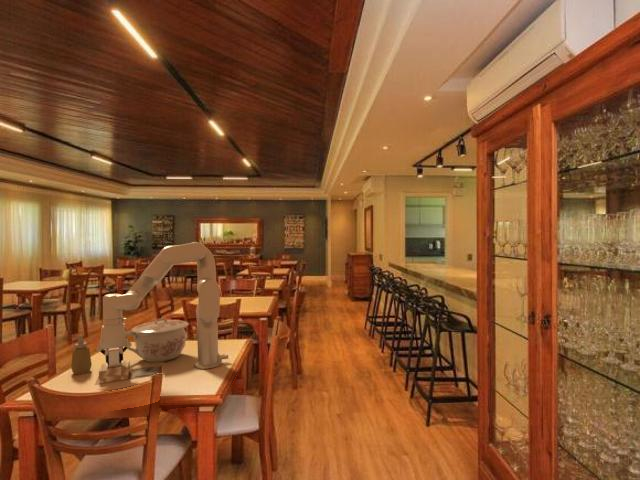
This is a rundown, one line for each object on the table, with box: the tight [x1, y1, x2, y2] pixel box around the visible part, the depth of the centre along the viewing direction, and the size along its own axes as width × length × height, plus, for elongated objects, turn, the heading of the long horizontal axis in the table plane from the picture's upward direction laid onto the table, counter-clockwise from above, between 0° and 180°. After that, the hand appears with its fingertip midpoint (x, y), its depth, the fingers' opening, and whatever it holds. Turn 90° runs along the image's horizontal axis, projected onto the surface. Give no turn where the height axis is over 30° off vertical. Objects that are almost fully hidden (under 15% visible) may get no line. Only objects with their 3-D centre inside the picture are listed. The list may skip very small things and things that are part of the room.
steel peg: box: [109, 348, 120, 368], centre depth 168 cm, size 4×4×12 cm
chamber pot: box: [126, 317, 190, 363], centre depth 196 cm, size 28×28×21 cm
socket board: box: [94, 359, 163, 386], centre depth 170 cm, size 26×13×6 cm, turn 113°
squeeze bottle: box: [70, 335, 93, 376], centre depth 175 cm, size 8×8×18 cm
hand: (114, 362), depth 168 cm, fingers closed on steel peg, 4 cm apart
